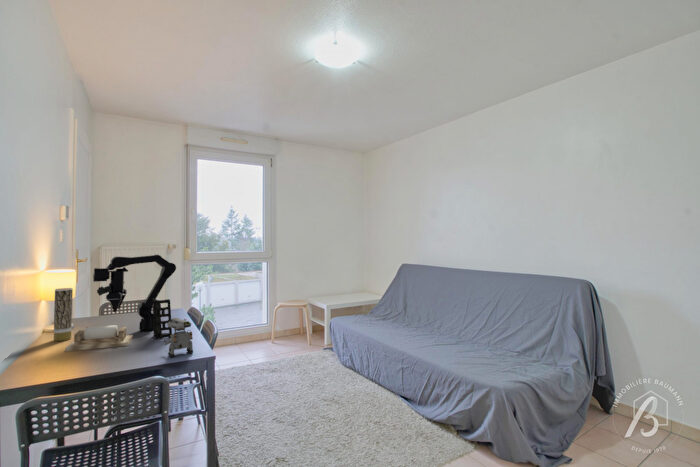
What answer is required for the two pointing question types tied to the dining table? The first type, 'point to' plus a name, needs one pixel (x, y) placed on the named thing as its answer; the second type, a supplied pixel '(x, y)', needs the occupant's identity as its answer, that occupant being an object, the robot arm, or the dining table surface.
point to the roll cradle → (99, 341)
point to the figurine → (179, 336)
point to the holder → (157, 318)
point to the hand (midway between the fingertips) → (116, 310)
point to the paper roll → (100, 332)
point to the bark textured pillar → (63, 314)
